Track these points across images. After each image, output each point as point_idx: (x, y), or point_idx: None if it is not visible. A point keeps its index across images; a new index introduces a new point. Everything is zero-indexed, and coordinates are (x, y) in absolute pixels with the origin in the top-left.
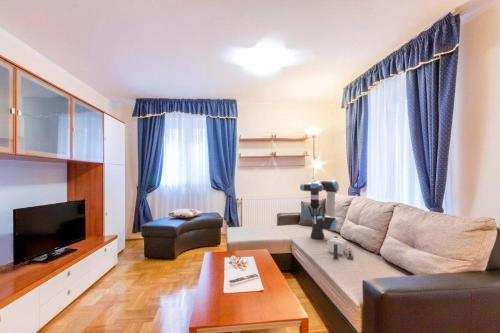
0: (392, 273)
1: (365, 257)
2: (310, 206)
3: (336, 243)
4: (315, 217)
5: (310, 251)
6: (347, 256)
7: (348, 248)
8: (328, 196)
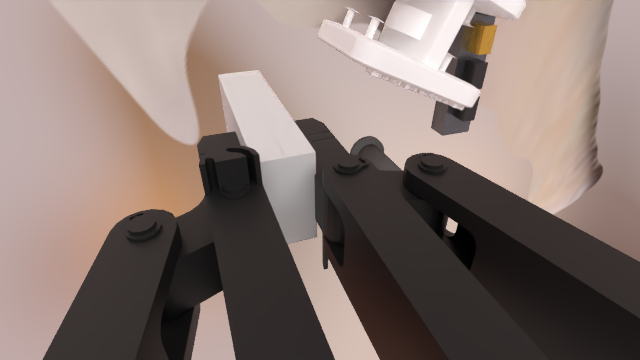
0: (553, 201)
1: (538, 46)
2: None
3: (425, 95)
4: (306, 230)
5: (164, 84)
6: (440, 118)
7: None
8: None
